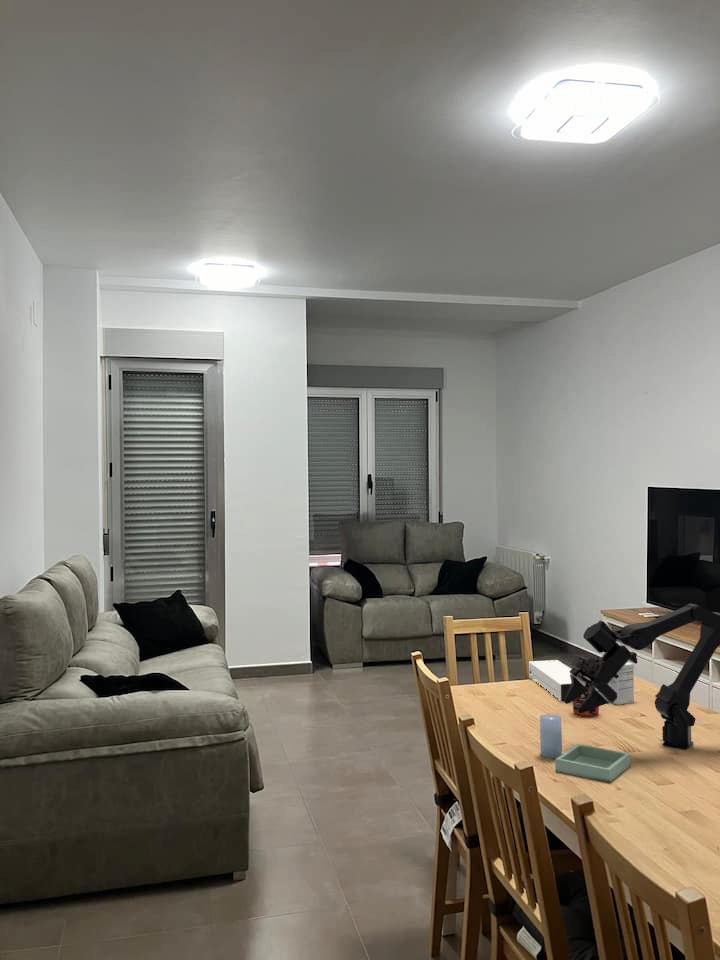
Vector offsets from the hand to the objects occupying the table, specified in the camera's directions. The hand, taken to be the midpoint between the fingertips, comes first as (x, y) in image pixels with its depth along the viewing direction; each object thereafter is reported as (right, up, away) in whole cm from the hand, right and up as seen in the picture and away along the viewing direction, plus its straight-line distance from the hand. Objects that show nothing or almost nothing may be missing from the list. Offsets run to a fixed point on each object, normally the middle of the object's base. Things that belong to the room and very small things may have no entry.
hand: (571, 707), depth 223 cm
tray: (+2, -12, -11) cm, 17 cm away
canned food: (+13, -12, +35) cm, 39 cm away
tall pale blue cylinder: (-6, -12, -1) cm, 14 cm away
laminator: (+12, -12, +66) cm, 68 cm away
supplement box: (+27, -11, +48) cm, 57 cm away
